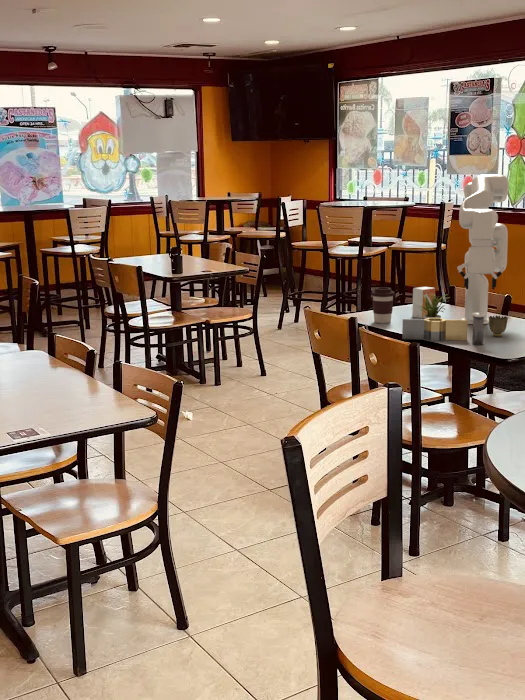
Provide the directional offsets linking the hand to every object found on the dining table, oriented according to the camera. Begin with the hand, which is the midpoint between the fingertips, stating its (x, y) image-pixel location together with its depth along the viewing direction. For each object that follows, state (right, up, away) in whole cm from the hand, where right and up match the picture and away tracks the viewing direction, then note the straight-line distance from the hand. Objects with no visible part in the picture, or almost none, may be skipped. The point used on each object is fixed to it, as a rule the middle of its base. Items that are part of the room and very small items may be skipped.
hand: (479, 289), depth 330 cm
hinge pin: (0, -21, +4) cm, 21 cm away
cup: (+11, -18, +18) cm, 28 cm away
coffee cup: (-30, -11, +50) cm, 60 cm away
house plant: (-11, -15, +31) cm, 36 cm away
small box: (-10, -8, +62) cm, 64 cm away
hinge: (-15, -19, +14) cm, 27 cm away
